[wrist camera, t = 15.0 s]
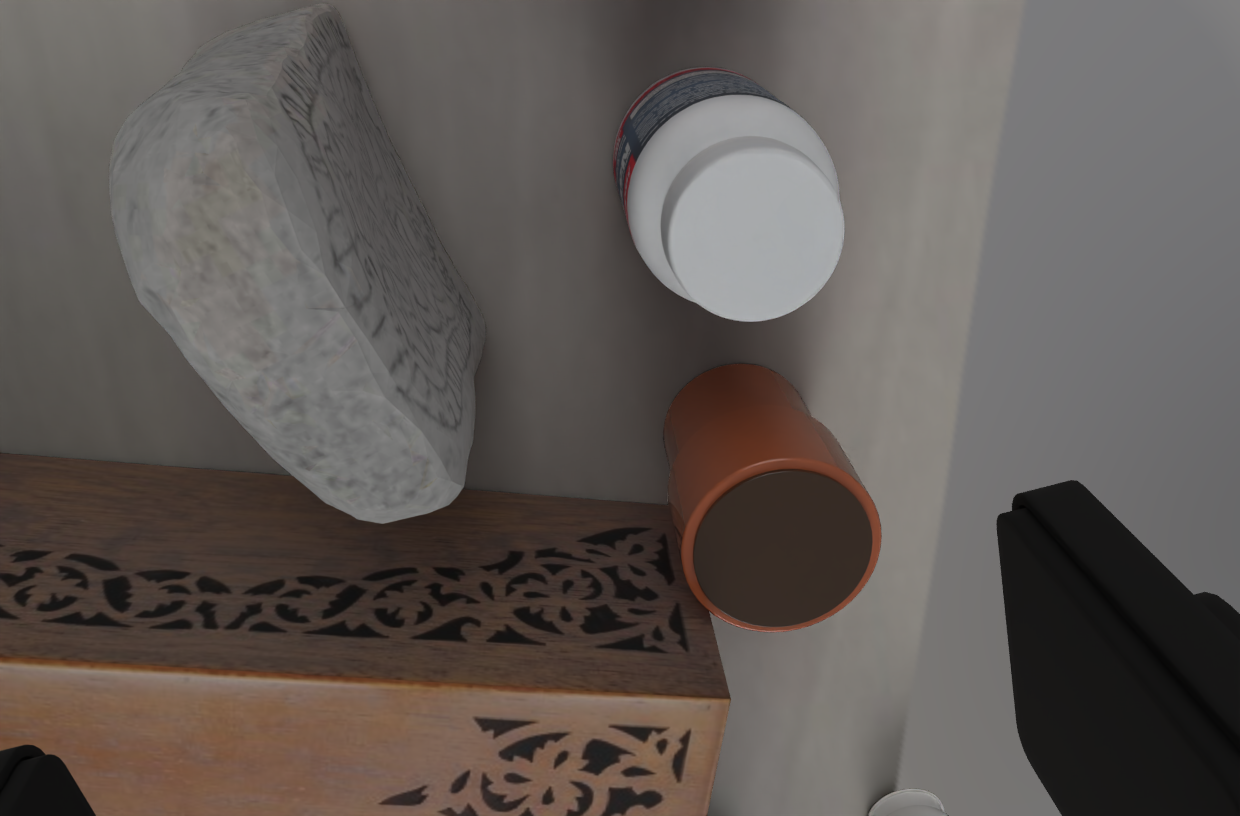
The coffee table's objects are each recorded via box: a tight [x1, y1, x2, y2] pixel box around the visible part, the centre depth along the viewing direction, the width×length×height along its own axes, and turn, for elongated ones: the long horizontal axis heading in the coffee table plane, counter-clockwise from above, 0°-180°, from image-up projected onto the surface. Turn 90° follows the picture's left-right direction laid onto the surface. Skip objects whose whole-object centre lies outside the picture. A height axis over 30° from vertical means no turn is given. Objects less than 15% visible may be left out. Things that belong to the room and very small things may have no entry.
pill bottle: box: [613, 67, 845, 322], centre depth 28 cm, size 5×5×9 cm
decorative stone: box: [109, 3, 486, 524], centre depth 25 cm, size 11×6×15 cm, turn 24°
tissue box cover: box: [0, 453, 731, 816], centre depth 33 cm, size 26×14×10 cm, turn 83°
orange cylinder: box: [663, 364, 882, 632], centre depth 32 cm, size 5×5×8 cm
